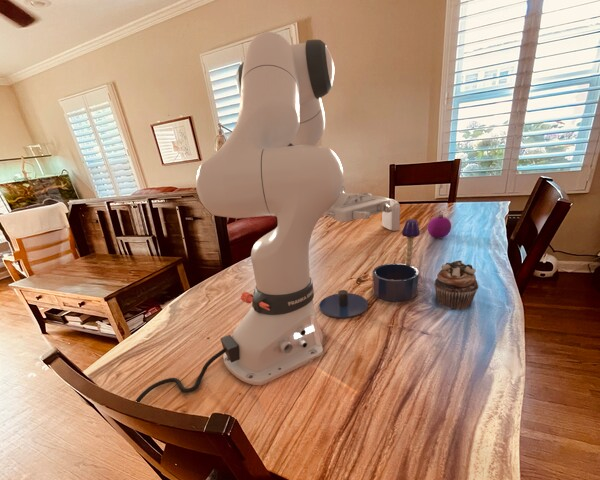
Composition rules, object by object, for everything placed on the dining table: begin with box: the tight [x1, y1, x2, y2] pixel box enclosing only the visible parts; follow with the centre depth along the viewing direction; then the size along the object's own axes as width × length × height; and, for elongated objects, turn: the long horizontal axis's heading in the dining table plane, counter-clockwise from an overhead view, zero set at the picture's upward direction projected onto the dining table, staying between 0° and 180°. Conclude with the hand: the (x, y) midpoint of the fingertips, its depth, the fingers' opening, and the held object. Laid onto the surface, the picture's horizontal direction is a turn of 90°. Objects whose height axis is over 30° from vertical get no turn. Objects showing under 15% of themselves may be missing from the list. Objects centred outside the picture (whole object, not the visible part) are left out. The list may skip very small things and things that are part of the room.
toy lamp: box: [401, 218, 421, 266], centre depth 89 cm, size 5×5×17 cm
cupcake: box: [434, 260, 480, 311], centre depth 75 cm, size 10×10×10 cm
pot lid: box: [318, 289, 369, 320], centre depth 79 cm, size 12×12×5 cm
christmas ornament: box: [427, 211, 452, 239], centre depth 118 cm, size 8×8×10 cm
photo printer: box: [381, 198, 401, 232], centre depth 135 cm, size 10×4×12 cm, turn 13°
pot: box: [371, 262, 420, 303], centre depth 83 cm, size 11×11×6 cm
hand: (379, 212), depth 94 cm, fingers open, 8 cm apart
